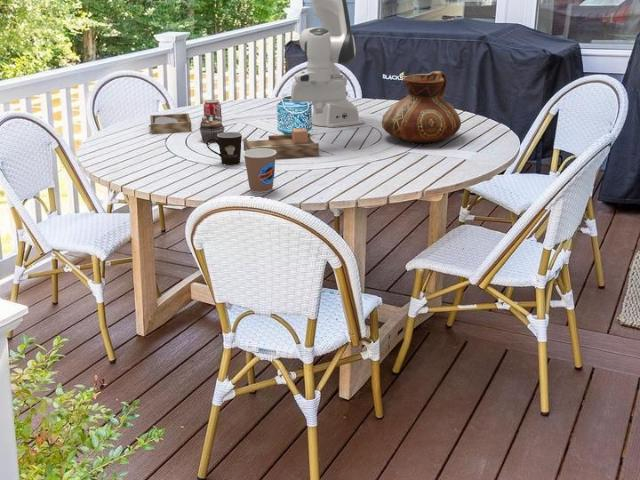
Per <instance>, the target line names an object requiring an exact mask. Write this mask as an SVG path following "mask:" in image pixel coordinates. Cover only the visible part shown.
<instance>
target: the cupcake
mask: <svg viewBox="0 0 640 480" xmlns="http://www.w3.org/2000/svg"><path fill="white" fill-rule="evenodd" d="M220 119H221V117H219V116H218V115H215V116H213V115H212V114H210V115H207V116H204V115H203V116H202V117H201V122H200V123H199V124H200V125H199V132H200V136H201V140H202V142H203V143H206V142H207V141H208V140H210V139H215V140H218V139H217V135H218V134H220V133H224V132H225V126H224V125H223V121H222V122H221V121H220ZM214 143H215V141H210V142H209V143H208V144H214ZM215 144H216V143H215Z"/></svg>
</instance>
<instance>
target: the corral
mask: <svg viewBox="0 0 640 480" xmlns="http://www.w3.org/2000/svg"><path fill="white" fill-rule="evenodd" d="M149 117H150V129H151V130H150V131H151V135H161V134H162V135H165V134H178V133H191V132H192V121H191V117H190V115H189V113H186V112H185V113H171V114H169V113H168V114H154V115H152V114H151V115H149ZM158 117H169V118H174V119H177V120H178V122H176V123H160V124H154V123H155V119H156V118H158Z"/></svg>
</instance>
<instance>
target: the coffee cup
mask: <svg viewBox="0 0 640 480" xmlns="http://www.w3.org/2000/svg"><path fill="white" fill-rule="evenodd" d="M276 153H277V152H276V151H275V150H272V149H266V148H257V149H250V150H247V151H243V153H242V154H243V156H244V163H245V168H246V169H245V170H246V175H247V180H248V186H249V189H250V190H249V191H251V192H252V193H255V194H256V193H258V194H264V193H263V192H265V193H269V192H272V191H273V187H274V179H275V173H276V172H275V171H276V170H275V169H276V165H275V164H276V159H275V156H276V155H275V154H276Z"/></svg>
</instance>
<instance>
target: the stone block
mask: <svg viewBox="0 0 640 480" xmlns="http://www.w3.org/2000/svg"><path fill="white" fill-rule="evenodd" d="M176 122H178V120H177V119H174V118H169V117H158V118H156V119H155V123H154V124H160V123H176Z"/></svg>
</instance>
